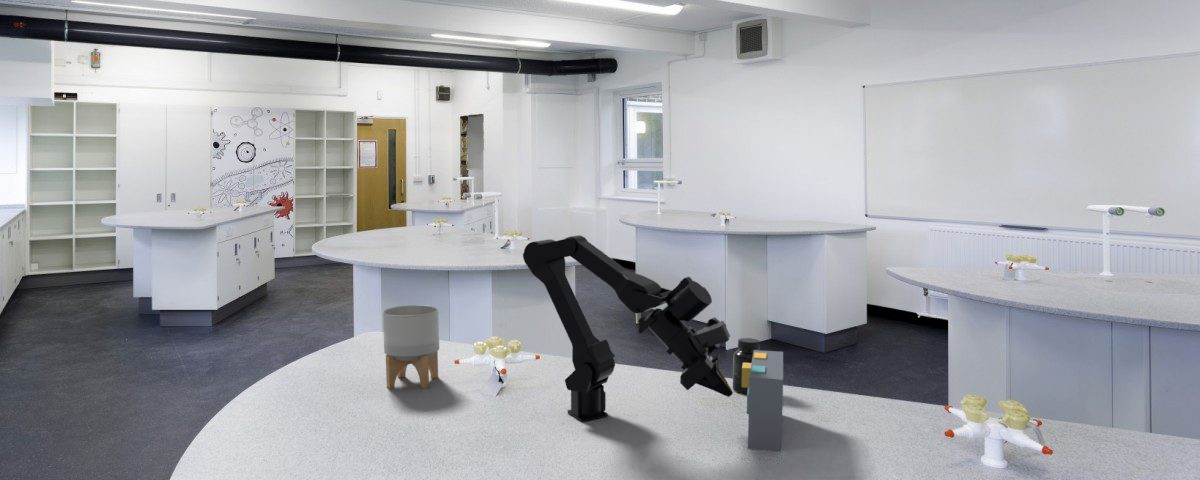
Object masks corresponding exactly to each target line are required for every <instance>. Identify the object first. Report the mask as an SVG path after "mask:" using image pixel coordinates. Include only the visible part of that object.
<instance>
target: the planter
mask: <svg viewBox="0 0 1200 480" xmlns="http://www.w3.org/2000/svg"><path fill="white" fill-rule="evenodd" d="M439 315H440V314H439V308H438V307H436V306H434V305H425V304H409V305H408V304H407V305H401V306H400V305H399V306H395V307H394V306H393V307H389V308H386V309H384V310H383V311H382V327H383V328H382V329H383V330H382V331H383V353H384V354H385V370H386V371H385V374H386V377H385V378H386V388H387V389H392V388H395V385H396V379H397V378H399V377H400V378H399V379H402V378H401V377H403V378H406V377H405V376H406V374H407V373H406V372H407V367H408V365H412V366H413V367H414V368H415V370H416V372H417V375H418V377H419V382H420V388H421V389H428V388H430V380H429V379H430V378H431V379H436V378H439V359H438V358H439V357H438V354H439V353H438V351H439V350H440V322H439V321H440V319H439ZM429 373H430V374H429Z"/></svg>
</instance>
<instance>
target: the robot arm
mask: <svg viewBox="0 0 1200 480" xmlns="http://www.w3.org/2000/svg"><path fill="white" fill-rule="evenodd" d="M567 257H568V258H569V257H571V258H572V259H574V260H575V261H576V262H578V263H579V264H580V265H582V266H583V267H584V268H586V269H587V270H588V271H589V272H591V273H592V274H594V275H595V276H596V277H597V278H599V279H600V280H602V281H603V282H604V283H606V284H607V285H608V286H609V287H611V289H613V290H614V292H615V294H616V296H617V298H618V299H619V300H620V302H621V303H622V304H623V305H624V306H625V307H626V308H627V309H628V310H629V311H630V312H631V313H634V314H641V313H644V312H648V311H651V310H652V311H651V312H650V313H649V314H648V315H647V316H646V315H645V316H644V315H641V317H640V318H638V334H642V333H643V332H645V331H646V330H647V329H649V330H650V331H651V332H652V333H653V334H654V335H655V336H656V337H657V338H658V340H659V341H660V342H661V343H662V345H664V346H665V347H666V351H665V352H666V353H667V354H668V355H673V356H674V358H676V359H677V360H678V361H679V362H680V364H681V365H680V366H681V367H680V368H681V369H682V372H681V374H680V379H679V381H680V382H679V384H681V386H683V387H684V388H685V390H686V391H689V390H691V388H692V387H694V386H695V385H699V386H702V387H704V388H707V389H709V390H711V391H714V392H716V393H719V394H721V395H723V396H725V397H727V398H729V397H731V396H732V395H733V393H734V392H733V389H732V388H731V386H730V385H729V383H728V381H727V380H726V378H725V376H724V375H723V372H722V371H721V368H720V366H719V364H720V363H719V360H720V354H719V353H718V354H716V355H715V356H714V357H712V355H710V354H712V353H713V352H714V351H715V350H716V351H718V350H719V348H720V346H721V345H720V344H724V343H726V342H728V341H729V340H730V337H731V335H730V333H729V331H728V328H727V324H726V323H725V322H724V321H723V320H719V319H718V318H716V317H711V318H709V319H708V320H707V324H706V326H705V327H703V328H702V329H699V330H697V329H696V328H695V327H694V326H687V324H685V322H691V321H693V320H694V319H695V318H696V317H697V316H698V315H699V314H700V313H701V312H703V311H705V310H706V308H707V307H708V306H710V305H711V304H712V302H713V301H712V300H713V299H712V296H711V294H710V293H709V291H708V289H707V288H706V287H704V286H703V285H702V284H700V283H698V282H697V281H694V280H693V279H692V277H690V276H686V277H684V278H683V279H681V280H680V282H679V283H678V285H676V287H675V288H673V289H669V288H665V287H661V285H660V284H658V282H656V281H655V280H653V279H650V278H649V277H647V276H645V275H642V274H639V273H635V272H632V271H630V270H628V269H626V268H625V267H624V266H622V265H621V264H619V263H618V262H617V261H615V260H614V259H613V258H611V257H610V256H609V255H608V254H606V253H605V252H603V251H602V250H601V249H599V248H597V247H596V246H595V245H593V244H592V243H591V242H590V241H588V240H587V238H586V237H585V236H583V235H580V234H579V235H573V236H572V235H571V236H568V237H565V238H563V239H559V240H554V239H542V240H536V241H532V242H529V243H527V244H526V246H525V248H524V250H523V253H522V258H523V262H524V263H525V265H526V266H527V268H528V269H529V271H530V273H531V274H532V275H533V276H534V277H535V278H536V279H537V280H539V281H540V282H541V283H542V284H543V285H544V287H545V289H546V291H547V293H548V296H549V298H550V299H551V302H552V304H553V306H554V308H555V311H556V313H557V316H558V318H559V319H560V322H561V324H562V326H563V328H564V330H565V332H566V335H567V337H568V339H569V342H570V343H571V346H572V355H571V357H572V358H571V362H572V364H573V369H574V370H573V371H572V372H571V373H570V374H569V375H568V376H567V377H566V378H565V379H564V383H565V388H566V390H567V391H570V409H568V410H567V411H566V413H567V414H569V415H570V416H571V417H573V418H575V419H577V420H579V421H580V422H586V421H592V420H595V419H596V420H597V419H600V418H606V417H608V415H609V414H608V413H607V412H606V409H607V408H606V405H607V404H606V401H607V400H606V399H607V398H606V395H607V394H606V391H605V387H604V384H606V383H607V382H608V379H609V377H610V376H612V374H613V373H614V370H615V367H616V362H615V359H614V358H615V357H616V355H615V354H614V353H613V352H612V350H611V347H610V343H609V342H608V340H607V339H603V340H601V341H600V339H598V338H597V337H596V336H595V335H594V333H593V331H592V329H591V327H590V325H589V323H588V321H587V319H586V317H585V315H584V312H583V310H582V309H581V306H580V304H579V301H578V300H577V297H576V295H575V294H574V291H573V289H572V287H571V284H570V282H569V280H568V279H567V276H566V259H565V258H567ZM665 304H667V305H666V307H664V308H657V307H659V306H661V305H665ZM653 309H654V310H653ZM684 321H685V322H684ZM709 355H710V356H709Z"/></svg>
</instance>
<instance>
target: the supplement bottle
mask: <svg viewBox="0 0 1200 480" xmlns="http://www.w3.org/2000/svg"><path fill="white" fill-rule="evenodd" d="M737 340H738V341H737V348H738V349H737V350H736V351H734V353H733V356H732V357H733V360H732V361H733V362H732V391H734V392H735V393H738V394H742V395H747V391H748V388H747V387H742V365H743V363H752V357H753V351H754V350H760V340H758V339H755V338H751V337H744V338H738V339H737Z"/></svg>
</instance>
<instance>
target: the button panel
mask: <svg viewBox="0 0 1200 480" xmlns="http://www.w3.org/2000/svg"><path fill="white" fill-rule="evenodd" d="M783 397H784V351H775V350H774V351H773V350H760V349H758V350H754V351H753V357H752V364H751V370H750V376H749V414H748V421H747V422H748V429H747V430H748V431H747V432H748V433H747V449H750V450H760V451H761V450H762V451H772V452H782V444H783V443H782V440H783V438H782V436H783V405H784V402H783V399H784V398H783Z"/></svg>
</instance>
